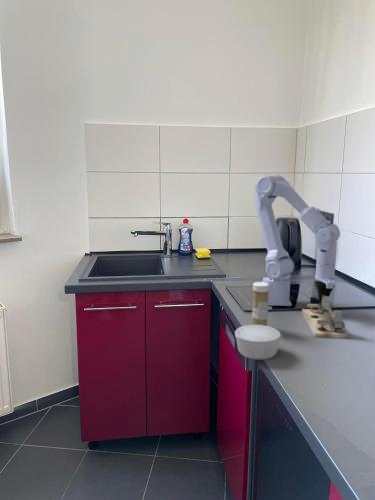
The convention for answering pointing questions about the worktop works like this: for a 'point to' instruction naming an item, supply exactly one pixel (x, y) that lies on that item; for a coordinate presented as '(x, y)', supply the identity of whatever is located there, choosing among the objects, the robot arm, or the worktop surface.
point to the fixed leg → (334, 321)
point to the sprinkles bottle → (260, 303)
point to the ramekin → (257, 341)
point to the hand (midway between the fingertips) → (323, 303)
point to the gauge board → (326, 331)
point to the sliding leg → (322, 305)
